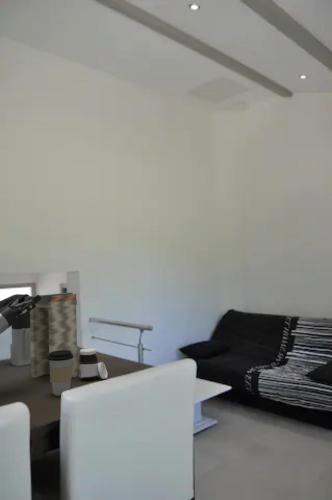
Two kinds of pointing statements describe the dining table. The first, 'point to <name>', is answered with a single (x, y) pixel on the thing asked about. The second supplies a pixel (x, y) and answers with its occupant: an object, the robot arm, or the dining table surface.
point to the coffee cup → (60, 370)
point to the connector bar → (45, 297)
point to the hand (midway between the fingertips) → (33, 296)
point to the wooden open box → (53, 332)
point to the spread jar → (90, 365)
